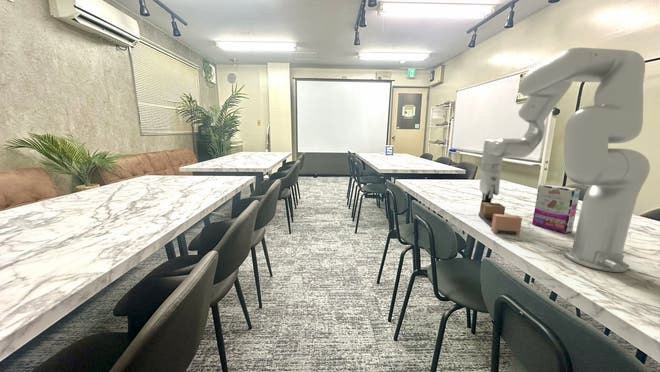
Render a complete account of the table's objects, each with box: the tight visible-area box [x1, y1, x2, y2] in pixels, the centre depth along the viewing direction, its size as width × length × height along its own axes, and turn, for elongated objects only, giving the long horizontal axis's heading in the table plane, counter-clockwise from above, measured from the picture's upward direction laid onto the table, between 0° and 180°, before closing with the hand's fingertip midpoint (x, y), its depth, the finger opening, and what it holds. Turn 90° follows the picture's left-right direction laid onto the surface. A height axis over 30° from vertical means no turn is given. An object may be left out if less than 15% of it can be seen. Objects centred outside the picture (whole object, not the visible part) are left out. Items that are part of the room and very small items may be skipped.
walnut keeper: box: [479, 201, 506, 218], centre depth 106 cm, size 6×7×5 cm
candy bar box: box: [532, 184, 581, 234], centre depth 97 cm, size 11×5×16 cm, turn 25°
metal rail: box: [478, 211, 517, 236], centre depth 102 cm, size 22×6×2 cm, turn 166°
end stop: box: [490, 214, 523, 237], centre depth 92 cm, size 3×8×6 cm, turn 76°
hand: (485, 208), depth 114 cm, fingers closed
